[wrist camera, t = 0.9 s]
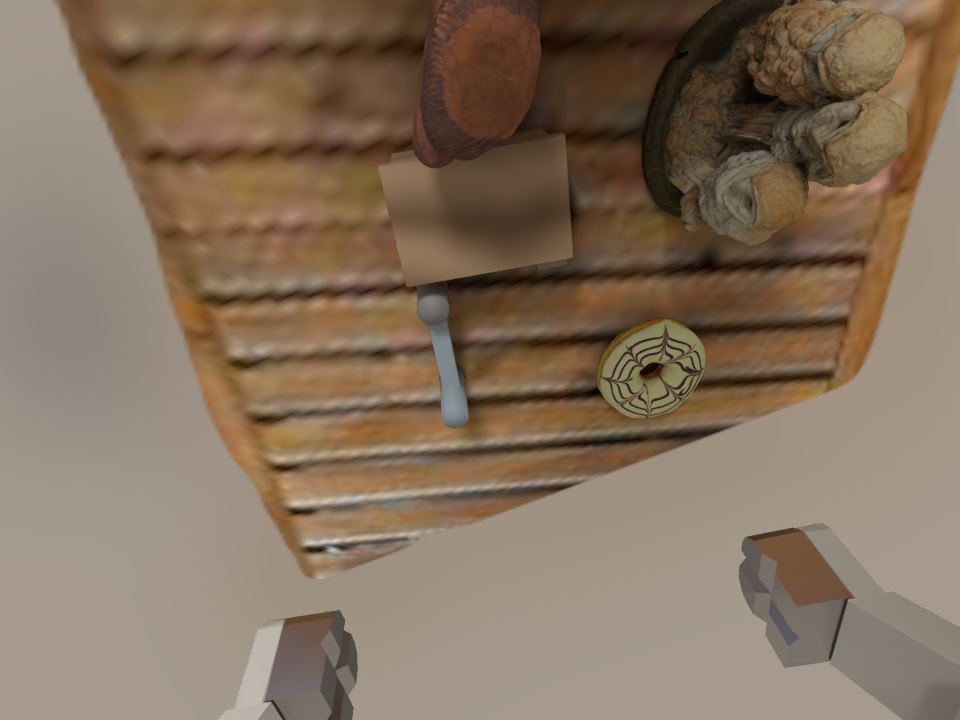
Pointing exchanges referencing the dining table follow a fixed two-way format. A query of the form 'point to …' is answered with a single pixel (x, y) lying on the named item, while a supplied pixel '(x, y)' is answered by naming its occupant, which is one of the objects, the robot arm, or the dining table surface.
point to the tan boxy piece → (481, 210)
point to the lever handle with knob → (444, 353)
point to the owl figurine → (772, 112)
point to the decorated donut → (663, 386)
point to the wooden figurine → (475, 77)
